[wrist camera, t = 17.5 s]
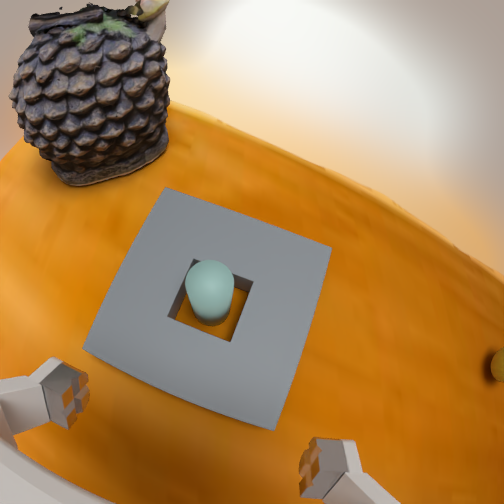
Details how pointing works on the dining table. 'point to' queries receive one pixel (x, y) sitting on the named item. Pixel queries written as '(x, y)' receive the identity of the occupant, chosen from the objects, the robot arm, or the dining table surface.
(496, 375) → the lemon
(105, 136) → the decorative house
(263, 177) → the dining table surface
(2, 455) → the robot arm
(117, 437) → the dining table surface
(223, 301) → the peg
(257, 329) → the cutout board
